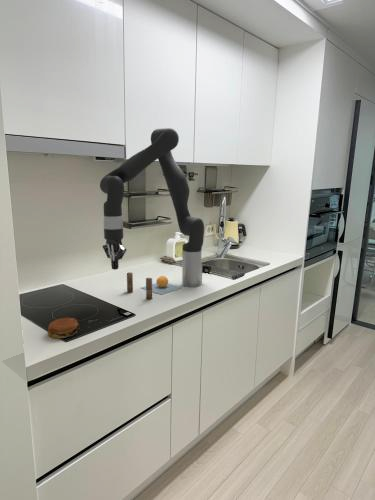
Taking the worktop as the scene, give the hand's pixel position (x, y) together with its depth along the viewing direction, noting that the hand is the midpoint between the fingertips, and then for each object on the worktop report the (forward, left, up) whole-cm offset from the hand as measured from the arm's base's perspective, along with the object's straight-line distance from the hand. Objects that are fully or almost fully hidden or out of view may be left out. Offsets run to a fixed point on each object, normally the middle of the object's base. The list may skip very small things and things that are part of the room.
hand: (115, 269), depth 140 cm
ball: (-28, -1, -12) cm, 30 cm away
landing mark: (-27, 0, -15) cm, 31 cm away
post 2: (-13, +6, -15) cm, 21 cm away
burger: (+29, +10, -15) cm, 34 cm away
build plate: (-64, -1, -16) cm, 66 cm away
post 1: (-13, -6, -15) cm, 21 cm away
